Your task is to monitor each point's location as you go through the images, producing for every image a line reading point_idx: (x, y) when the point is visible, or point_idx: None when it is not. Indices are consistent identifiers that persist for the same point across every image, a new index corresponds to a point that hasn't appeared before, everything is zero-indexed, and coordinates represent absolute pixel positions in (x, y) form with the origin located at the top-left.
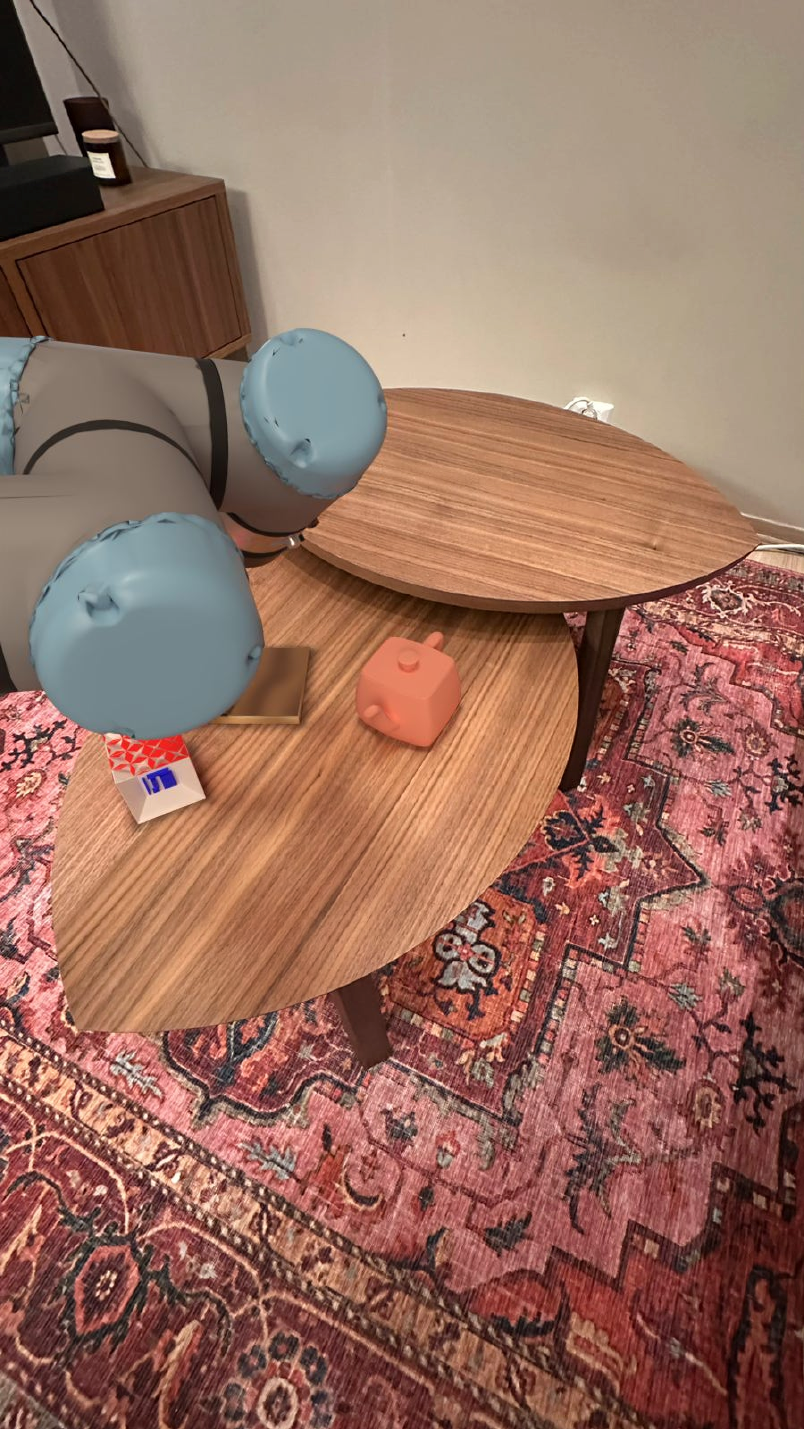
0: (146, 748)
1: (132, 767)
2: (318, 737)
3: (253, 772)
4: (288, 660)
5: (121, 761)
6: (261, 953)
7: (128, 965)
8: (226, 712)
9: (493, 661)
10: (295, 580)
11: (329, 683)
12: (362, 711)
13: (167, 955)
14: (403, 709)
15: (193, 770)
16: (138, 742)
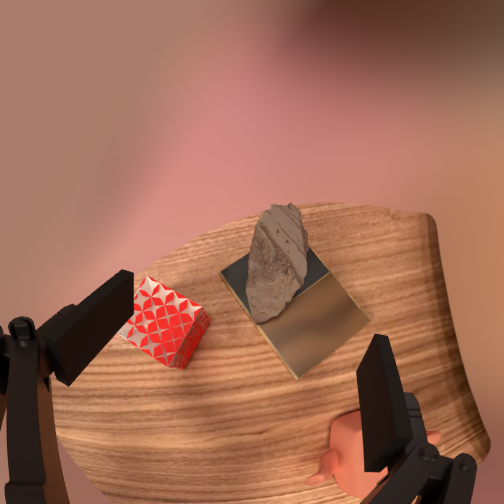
0: (153, 324)
1: (132, 330)
2: (294, 404)
3: (227, 384)
4: (345, 318)
5: (137, 312)
6: (120, 479)
7: (69, 408)
8: (257, 324)
9: (446, 446)
10: (417, 241)
11: (351, 365)
12: (333, 432)
13: (85, 427)
14: (345, 478)
15: (173, 366)
16: (164, 304)
